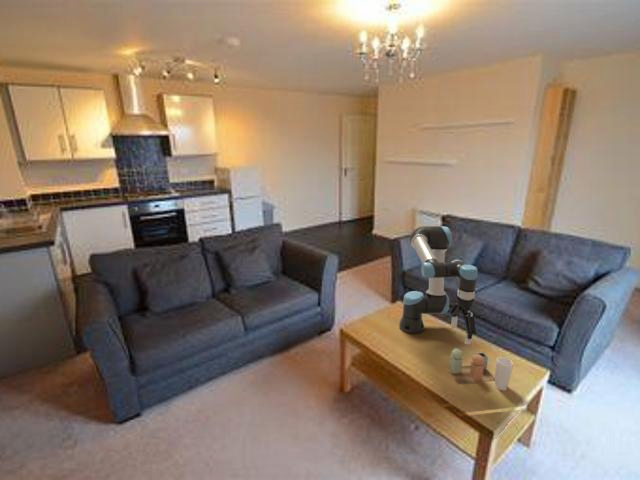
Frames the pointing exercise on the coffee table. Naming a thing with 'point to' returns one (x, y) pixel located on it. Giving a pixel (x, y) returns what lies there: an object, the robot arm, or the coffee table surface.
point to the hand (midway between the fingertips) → (460, 335)
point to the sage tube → (455, 365)
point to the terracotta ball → (478, 359)
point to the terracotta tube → (476, 371)
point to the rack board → (466, 378)
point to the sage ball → (457, 353)
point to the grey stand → (484, 359)
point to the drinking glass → (503, 372)
